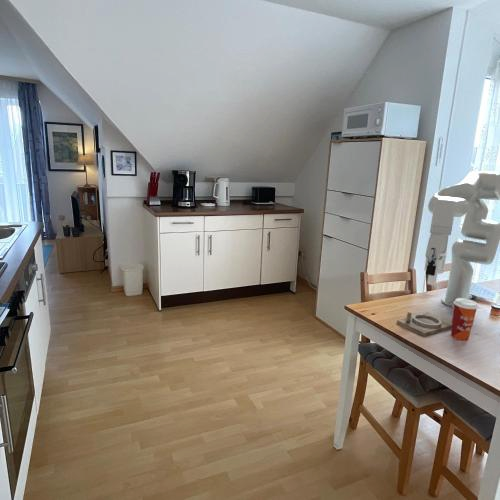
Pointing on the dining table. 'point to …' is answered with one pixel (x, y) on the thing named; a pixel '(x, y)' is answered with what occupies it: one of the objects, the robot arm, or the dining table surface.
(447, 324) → the locating board
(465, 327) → the coffee cup
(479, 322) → the dining table surface
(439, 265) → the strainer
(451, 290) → the robot arm
